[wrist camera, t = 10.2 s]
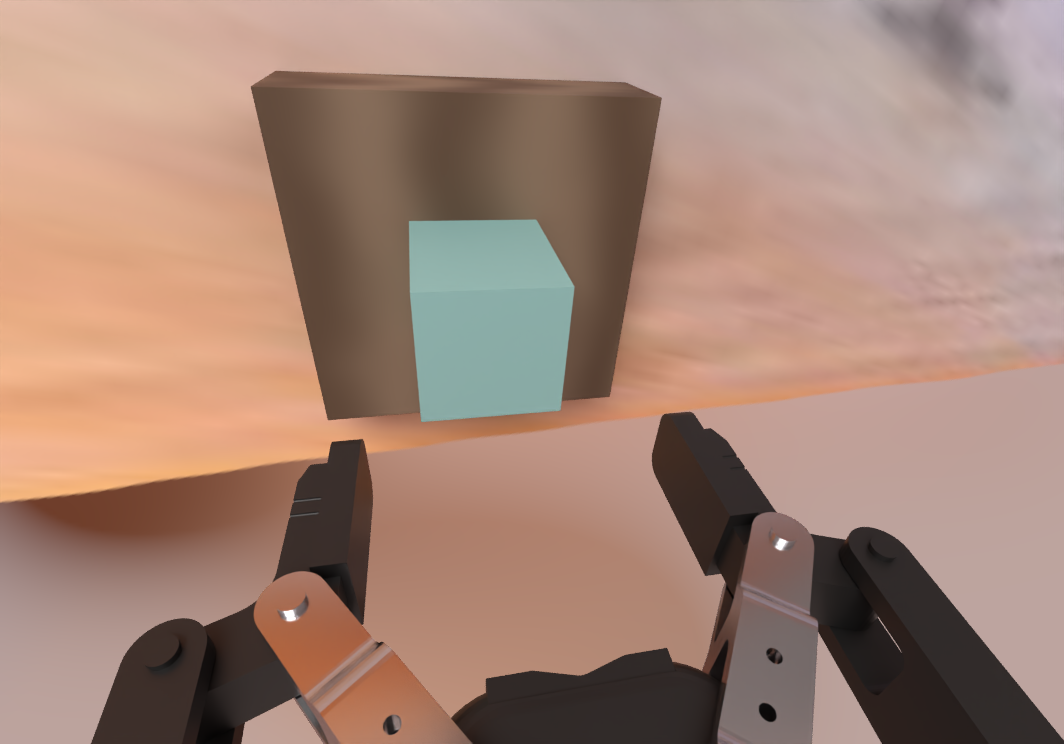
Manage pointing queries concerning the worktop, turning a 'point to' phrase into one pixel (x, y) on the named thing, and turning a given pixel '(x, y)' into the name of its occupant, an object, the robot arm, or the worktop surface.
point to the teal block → (487, 318)
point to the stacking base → (448, 206)
